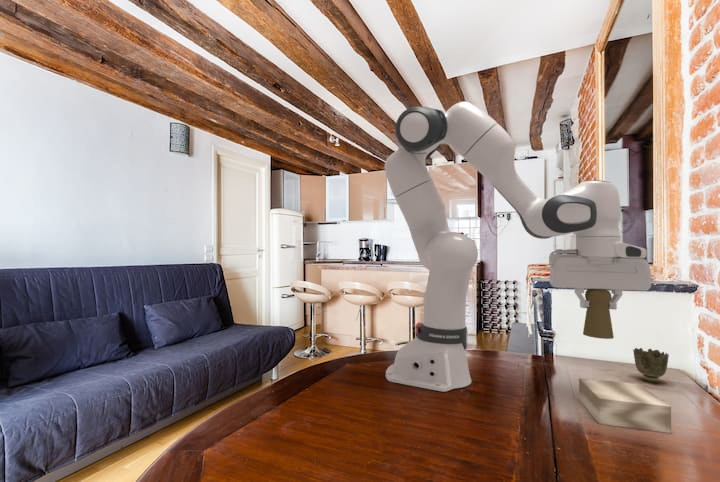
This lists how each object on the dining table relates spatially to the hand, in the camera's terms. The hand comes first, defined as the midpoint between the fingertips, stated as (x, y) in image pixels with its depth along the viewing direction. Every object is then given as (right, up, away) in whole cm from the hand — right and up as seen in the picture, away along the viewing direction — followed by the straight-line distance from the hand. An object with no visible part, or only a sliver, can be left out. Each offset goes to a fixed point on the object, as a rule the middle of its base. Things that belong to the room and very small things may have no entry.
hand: (597, 308), depth 83 cm
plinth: (-1, -21, -8) cm, 23 cm away
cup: (+23, -22, +12) cm, 34 cm away
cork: (0, -7, 0) cm, 7 cm away
